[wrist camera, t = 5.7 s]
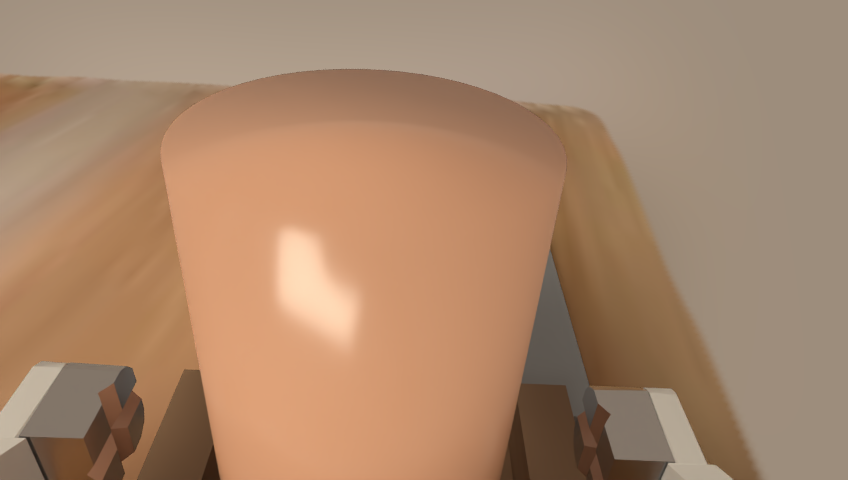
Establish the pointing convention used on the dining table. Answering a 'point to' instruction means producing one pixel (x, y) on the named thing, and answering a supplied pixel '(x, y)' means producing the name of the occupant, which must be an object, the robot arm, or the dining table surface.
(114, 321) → the dining table surface
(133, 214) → the dining table surface
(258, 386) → the tall peach cylinder
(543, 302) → the mat
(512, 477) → the cradle
